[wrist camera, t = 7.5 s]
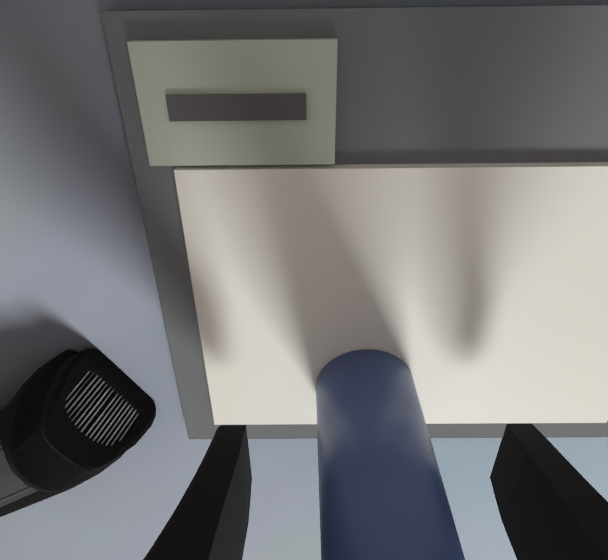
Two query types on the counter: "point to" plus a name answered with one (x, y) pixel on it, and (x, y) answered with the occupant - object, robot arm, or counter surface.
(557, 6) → the desk mat
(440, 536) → the marker
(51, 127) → the counter surface
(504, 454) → the robot arm
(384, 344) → the paper
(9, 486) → the electric trimmer
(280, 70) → the word tile
